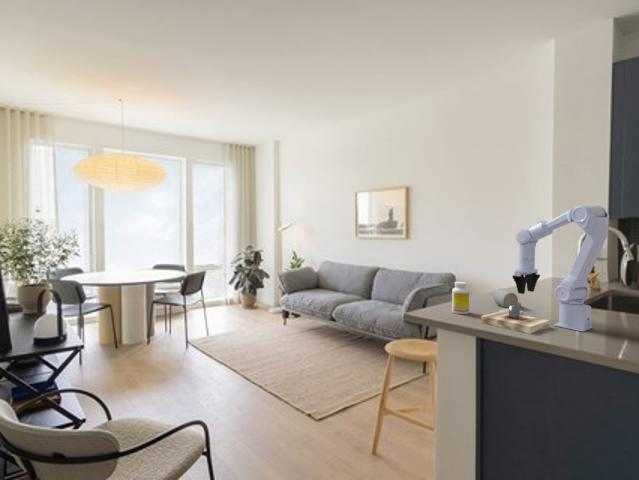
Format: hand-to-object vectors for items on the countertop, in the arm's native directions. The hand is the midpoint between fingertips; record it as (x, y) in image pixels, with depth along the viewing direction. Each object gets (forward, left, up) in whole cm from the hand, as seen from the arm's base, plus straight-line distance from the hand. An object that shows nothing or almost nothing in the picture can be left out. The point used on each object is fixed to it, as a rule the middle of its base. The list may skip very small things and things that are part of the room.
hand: (526, 292), depth 152 cm
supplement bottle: (+18, +18, -10) cm, 27 cm away
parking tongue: (+3, +6, -9) cm, 12 cm away
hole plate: (-5, +18, -9) cm, 21 cm away
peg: (-5, +18, -9) cm, 21 cm away
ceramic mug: (+13, -10, -10) cm, 19 cm away
